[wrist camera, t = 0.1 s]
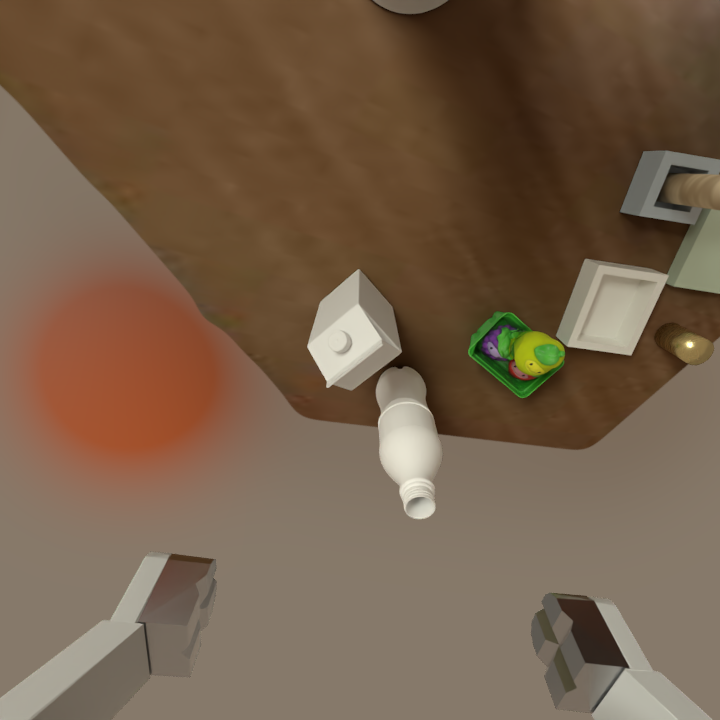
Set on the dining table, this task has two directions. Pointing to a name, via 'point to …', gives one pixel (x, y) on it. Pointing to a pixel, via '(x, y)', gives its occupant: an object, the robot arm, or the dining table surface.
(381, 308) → the milk carton
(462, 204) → the dining table surface
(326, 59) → the dining table surface
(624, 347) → the tray
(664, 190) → the dowel
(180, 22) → the dining table surface
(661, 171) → the socket block
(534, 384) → the fruit basket
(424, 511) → the water bottle
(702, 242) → the plate board
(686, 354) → the cylinder
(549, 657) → the robot arm
